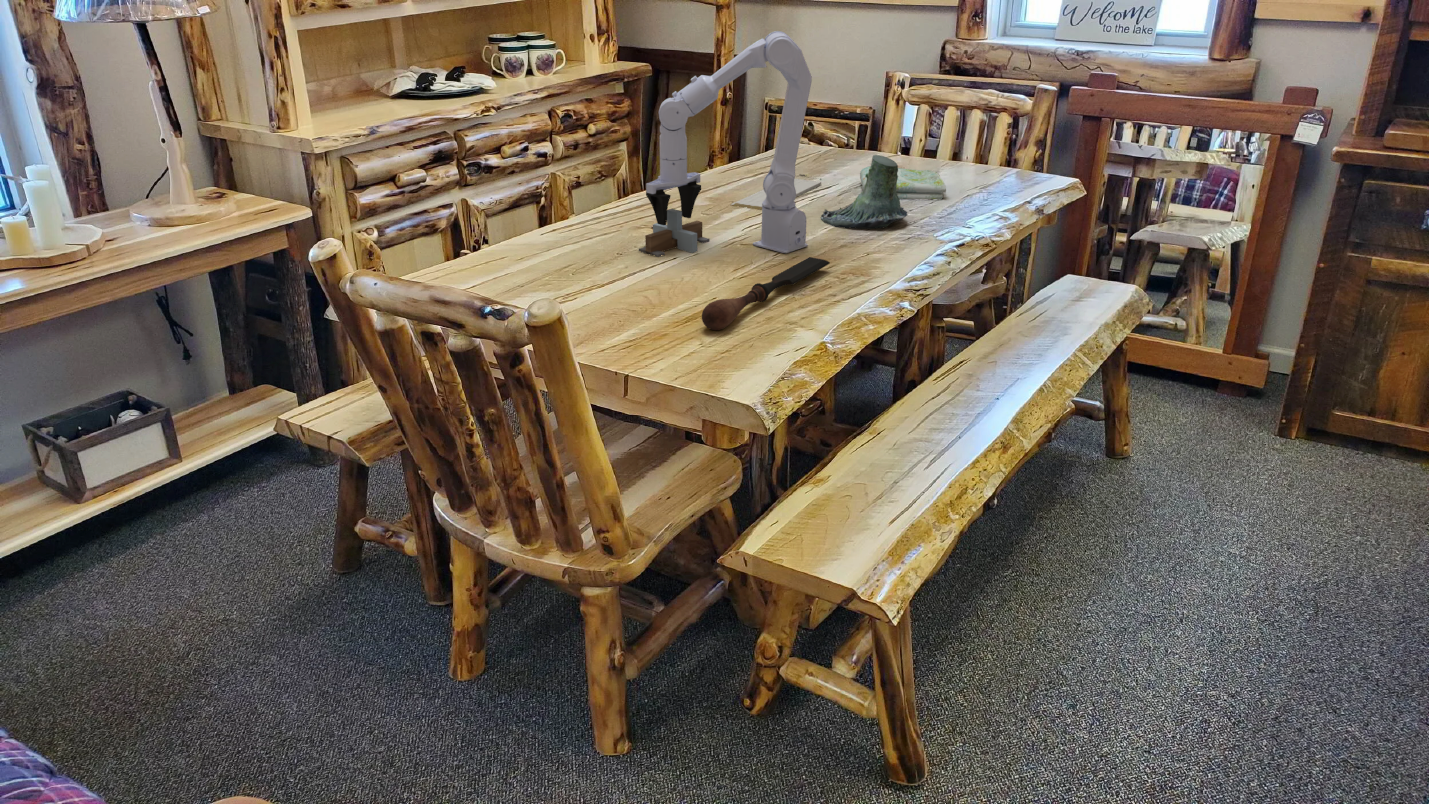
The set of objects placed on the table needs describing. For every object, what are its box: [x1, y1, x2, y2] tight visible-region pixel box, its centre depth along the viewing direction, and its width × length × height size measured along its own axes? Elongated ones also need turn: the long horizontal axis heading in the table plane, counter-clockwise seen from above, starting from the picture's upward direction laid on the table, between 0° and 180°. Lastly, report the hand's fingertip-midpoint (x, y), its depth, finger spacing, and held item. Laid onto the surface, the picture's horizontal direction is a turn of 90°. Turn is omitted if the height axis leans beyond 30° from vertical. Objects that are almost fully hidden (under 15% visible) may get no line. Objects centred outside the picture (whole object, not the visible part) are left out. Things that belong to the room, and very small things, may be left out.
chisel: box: [701, 256, 830, 331], centre depth 192 cm, size 5×43×5 cm, turn 148°
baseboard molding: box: [729, 173, 822, 211], centre depth 265 cm, size 31×3×12 cm
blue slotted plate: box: [652, 208, 698, 254], centre depth 222 cm, size 12×2×8 cm, turn 47°
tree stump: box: [820, 154, 908, 230], centre depth 240 cm, size 18×20×18 cm
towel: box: [859, 165, 947, 200], centre depth 269 cm, size 18×21×5 cm
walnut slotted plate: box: [638, 220, 711, 258], centre depth 223 cm, size 6×16×4 cm, turn 137°
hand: (674, 220), depth 221 cm, fingers open, 7 cm apart
